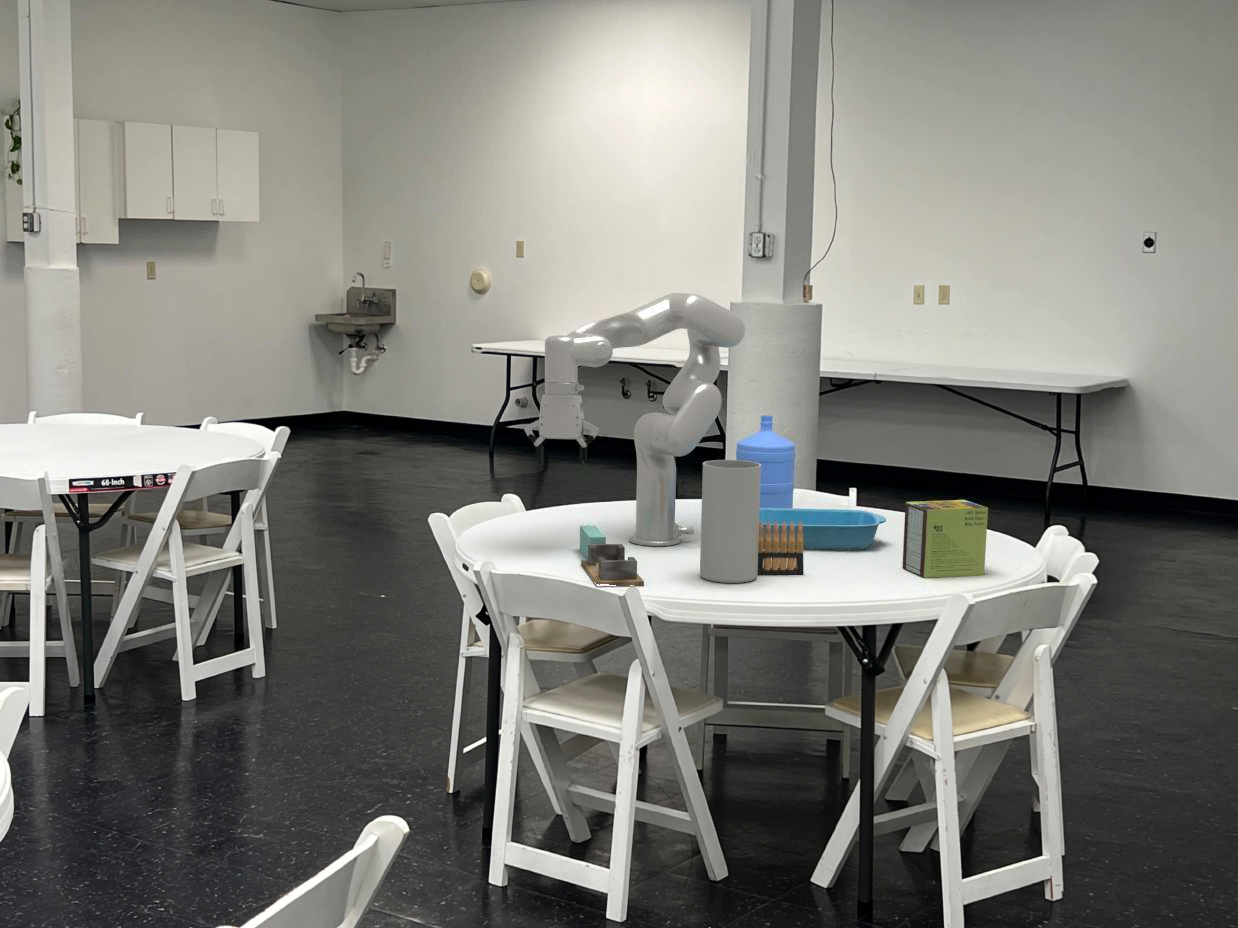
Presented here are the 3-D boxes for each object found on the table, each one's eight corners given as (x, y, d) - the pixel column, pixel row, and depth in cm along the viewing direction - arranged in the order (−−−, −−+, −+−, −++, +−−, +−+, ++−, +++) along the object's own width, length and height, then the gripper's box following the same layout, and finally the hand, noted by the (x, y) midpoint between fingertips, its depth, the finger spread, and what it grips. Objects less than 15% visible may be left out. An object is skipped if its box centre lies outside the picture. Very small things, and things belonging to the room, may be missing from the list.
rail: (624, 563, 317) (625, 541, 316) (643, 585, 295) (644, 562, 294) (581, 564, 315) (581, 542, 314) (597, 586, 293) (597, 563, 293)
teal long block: (594, 550, 331) (595, 525, 331) (605, 563, 318) (605, 537, 317) (579, 550, 331) (580, 525, 330) (589, 563, 317) (590, 537, 316)
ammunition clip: (755, 575, 308) (757, 521, 306) (754, 573, 309) (755, 520, 308) (803, 575, 308) (805, 522, 306) (801, 573, 310) (804, 520, 308)
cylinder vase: (724, 568, 313) (728, 458, 310) (768, 578, 305) (772, 464, 301) (687, 576, 304) (690, 463, 301) (732, 586, 296) (736, 470, 292)
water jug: (804, 522, 372) (808, 417, 368) (759, 527, 363) (763, 420, 359) (766, 513, 385) (770, 411, 380) (722, 518, 376) (725, 414, 372)
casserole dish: (735, 550, 335) (736, 520, 334) (733, 532, 357) (734, 504, 356) (890, 555, 333) (891, 525, 332) (878, 537, 355) (880, 509, 354)
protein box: (985, 575, 312) (989, 507, 310) (923, 578, 308) (927, 509, 305) (961, 565, 322) (964, 499, 320) (900, 568, 317) (904, 501, 315)
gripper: (600, 388, 324) (600, 461, 326) (527, 387, 326) (527, 459, 329) (596, 392, 316) (595, 466, 319) (520, 390, 319) (521, 464, 321)
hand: (561, 463), depth 324 cm, fingers open, 9 cm apart
